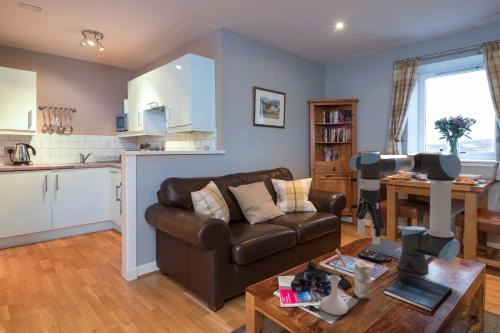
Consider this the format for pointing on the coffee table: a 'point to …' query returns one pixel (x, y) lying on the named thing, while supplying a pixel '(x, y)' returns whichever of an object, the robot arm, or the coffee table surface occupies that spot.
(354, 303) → the coffee table surface
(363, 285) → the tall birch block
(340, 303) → the flower in vase
